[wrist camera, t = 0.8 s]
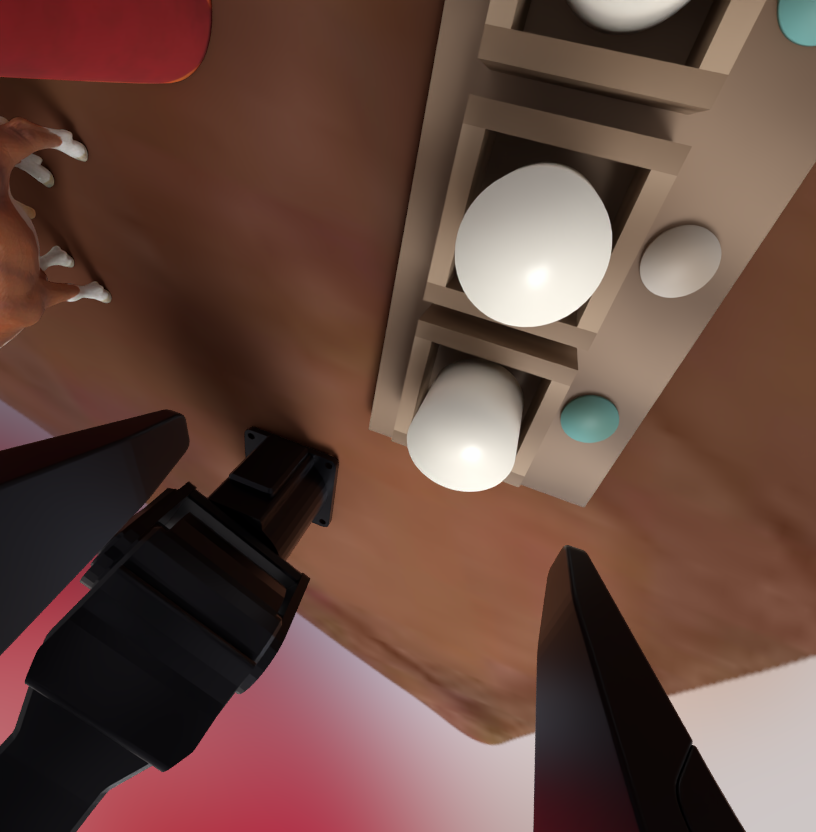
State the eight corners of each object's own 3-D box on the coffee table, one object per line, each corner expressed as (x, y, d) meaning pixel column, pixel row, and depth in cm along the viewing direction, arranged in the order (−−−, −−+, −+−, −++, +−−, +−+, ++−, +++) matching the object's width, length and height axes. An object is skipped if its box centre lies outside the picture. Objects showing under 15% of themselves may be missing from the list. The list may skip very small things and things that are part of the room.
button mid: (570, 305, 15) (571, 344, 12) (463, 274, 15) (439, 303, 13) (626, 180, 13) (644, 190, 10) (497, 147, 13) (478, 149, 10)
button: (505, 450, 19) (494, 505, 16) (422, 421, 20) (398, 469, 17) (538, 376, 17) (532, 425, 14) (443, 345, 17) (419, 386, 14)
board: (583, 494, 22) (586, 545, 19) (375, 419, 24) (349, 456, 21) (1125, -340, 8) (1420, -595, 5) (525, -384, 10) (509, -594, 7)
